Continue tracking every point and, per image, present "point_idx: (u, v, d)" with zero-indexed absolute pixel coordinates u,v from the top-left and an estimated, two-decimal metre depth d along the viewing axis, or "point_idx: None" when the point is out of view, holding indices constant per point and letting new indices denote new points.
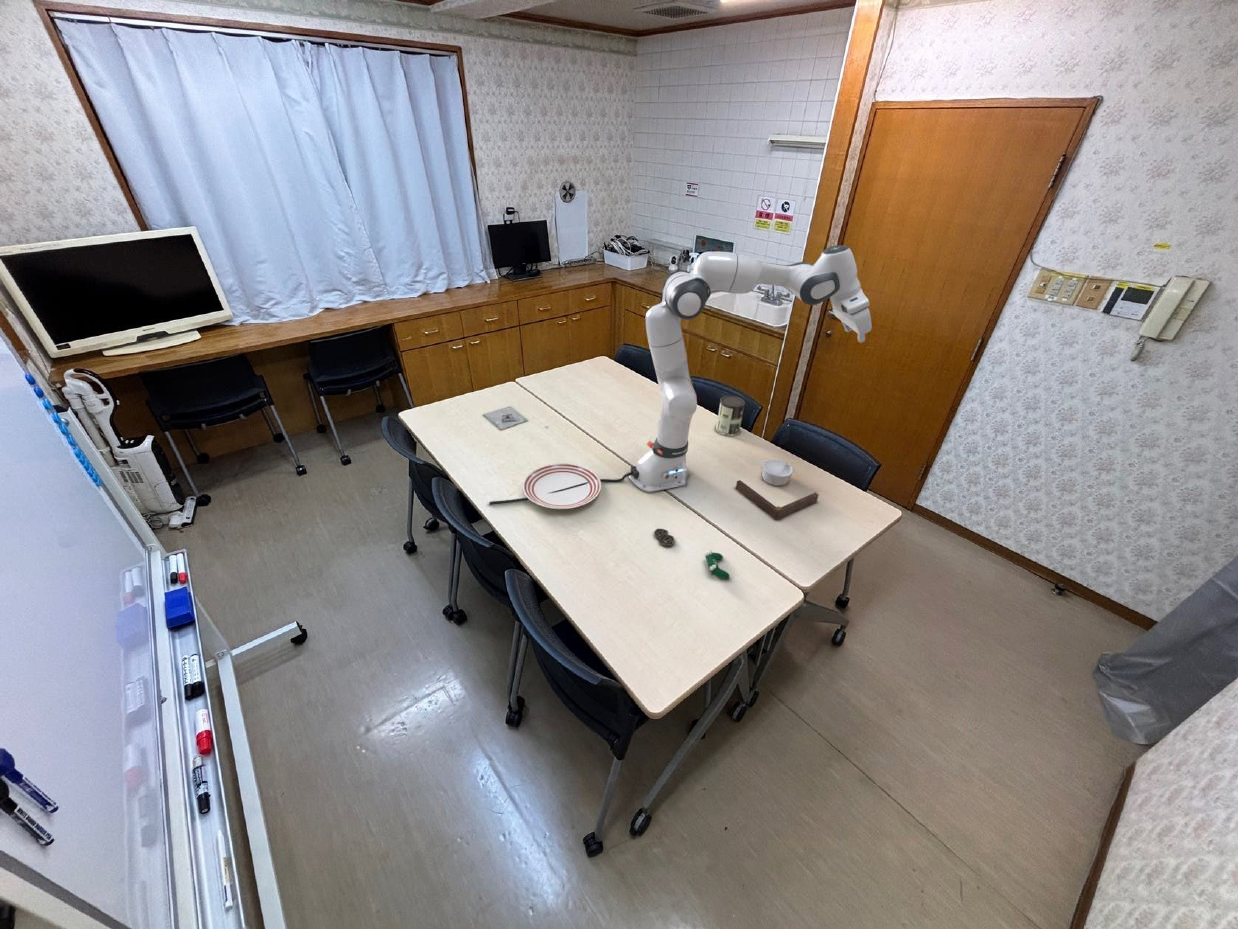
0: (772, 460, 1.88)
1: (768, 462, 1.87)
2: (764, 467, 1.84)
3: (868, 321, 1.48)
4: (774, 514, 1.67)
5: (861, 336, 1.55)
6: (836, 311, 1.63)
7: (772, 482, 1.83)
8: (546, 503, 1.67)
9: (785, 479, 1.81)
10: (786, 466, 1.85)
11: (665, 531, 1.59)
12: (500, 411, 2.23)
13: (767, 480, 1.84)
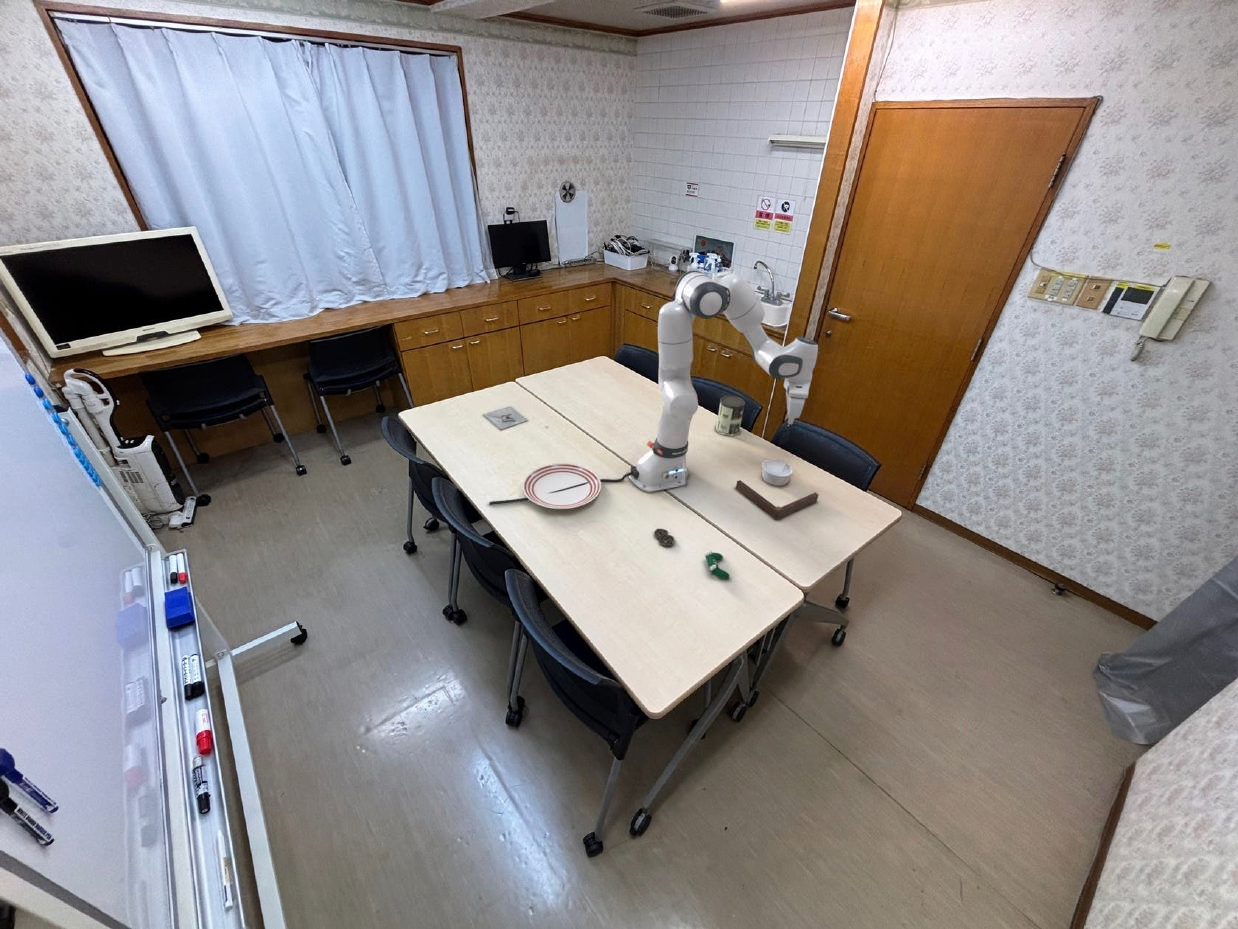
0: (772, 460, 1.88)
1: (768, 462, 1.87)
2: (764, 467, 1.84)
3: (799, 410, 1.71)
4: (774, 514, 1.67)
5: (791, 419, 1.78)
6: None
7: (772, 482, 1.83)
8: (546, 503, 1.67)
9: (785, 479, 1.81)
10: (786, 466, 1.85)
11: (665, 531, 1.59)
12: (500, 411, 2.23)
13: (767, 480, 1.84)
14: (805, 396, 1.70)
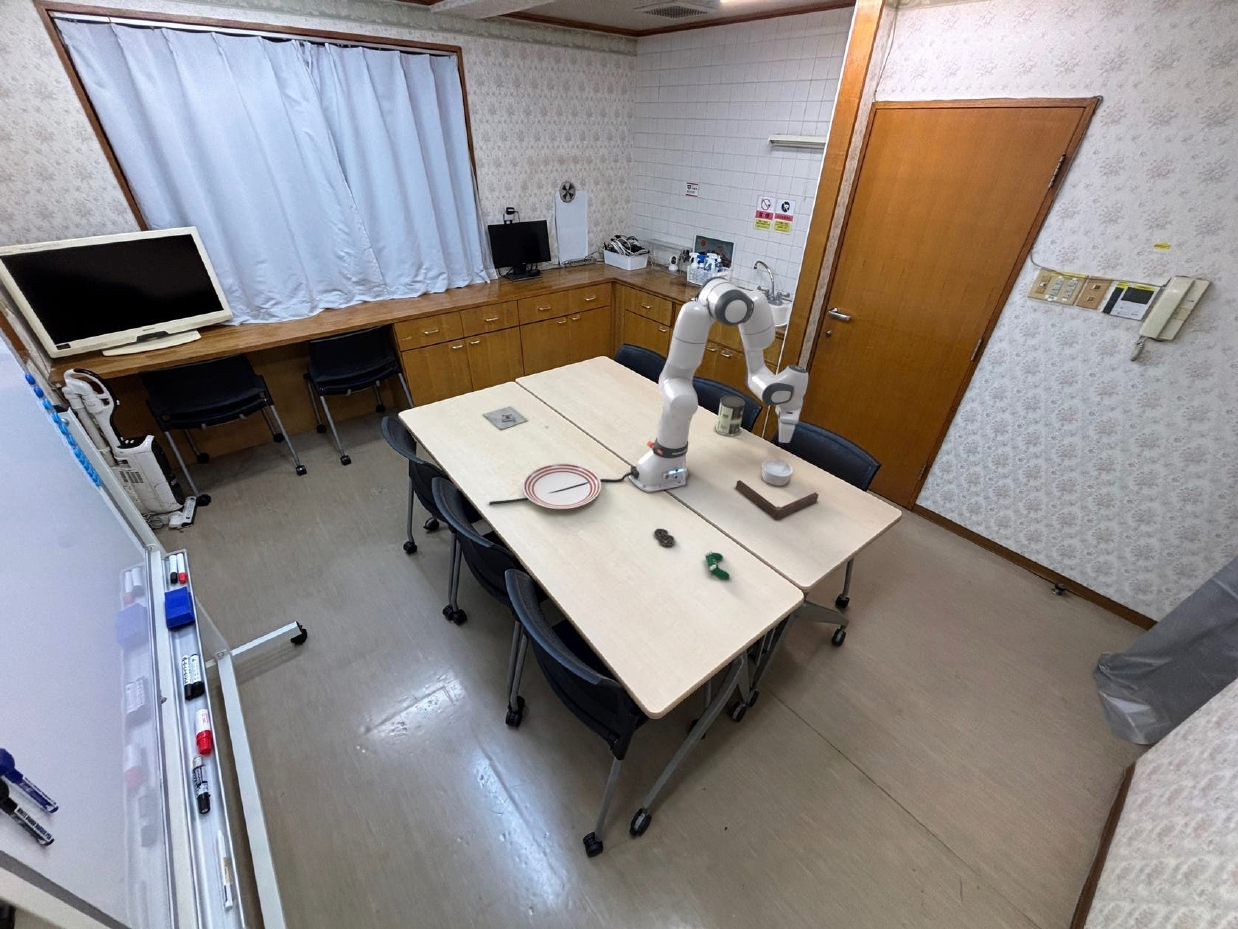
0: (772, 460, 1.88)
1: (768, 462, 1.87)
2: (764, 467, 1.84)
3: (790, 435, 1.77)
4: (774, 514, 1.67)
5: None
6: None
7: (772, 482, 1.83)
8: (546, 503, 1.67)
9: (785, 479, 1.81)
10: (786, 466, 1.85)
11: (665, 531, 1.59)
12: (500, 411, 2.23)
13: (767, 480, 1.84)
14: (795, 422, 1.75)
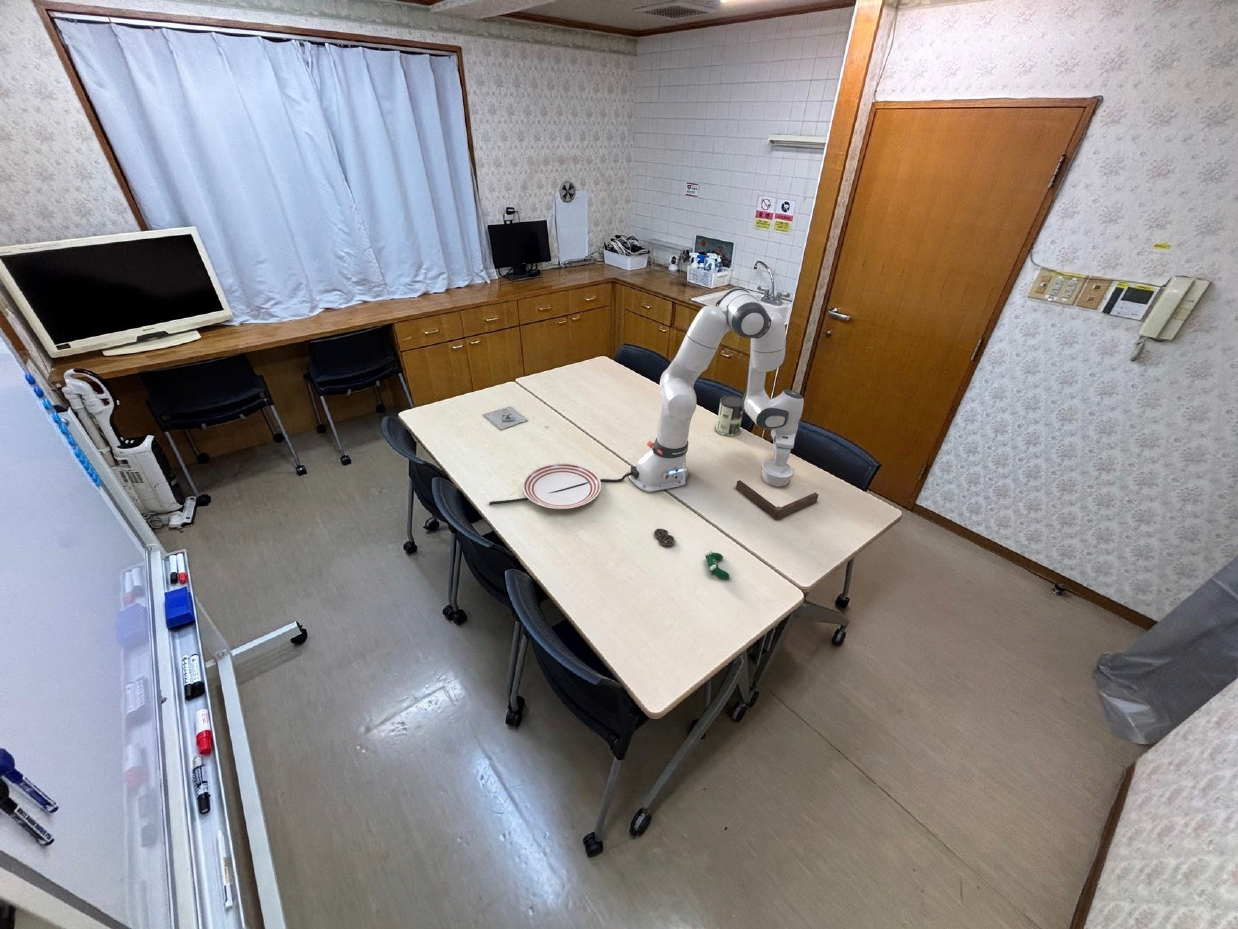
0: (772, 461, 1.87)
1: (768, 463, 1.86)
2: (764, 468, 1.83)
3: (785, 459, 1.78)
4: (774, 514, 1.67)
5: None
6: None
7: (772, 483, 1.82)
8: (546, 503, 1.67)
9: (785, 480, 1.81)
10: (786, 467, 1.85)
11: (665, 531, 1.59)
12: (500, 411, 2.23)
13: (767, 481, 1.83)
14: (791, 447, 1.76)
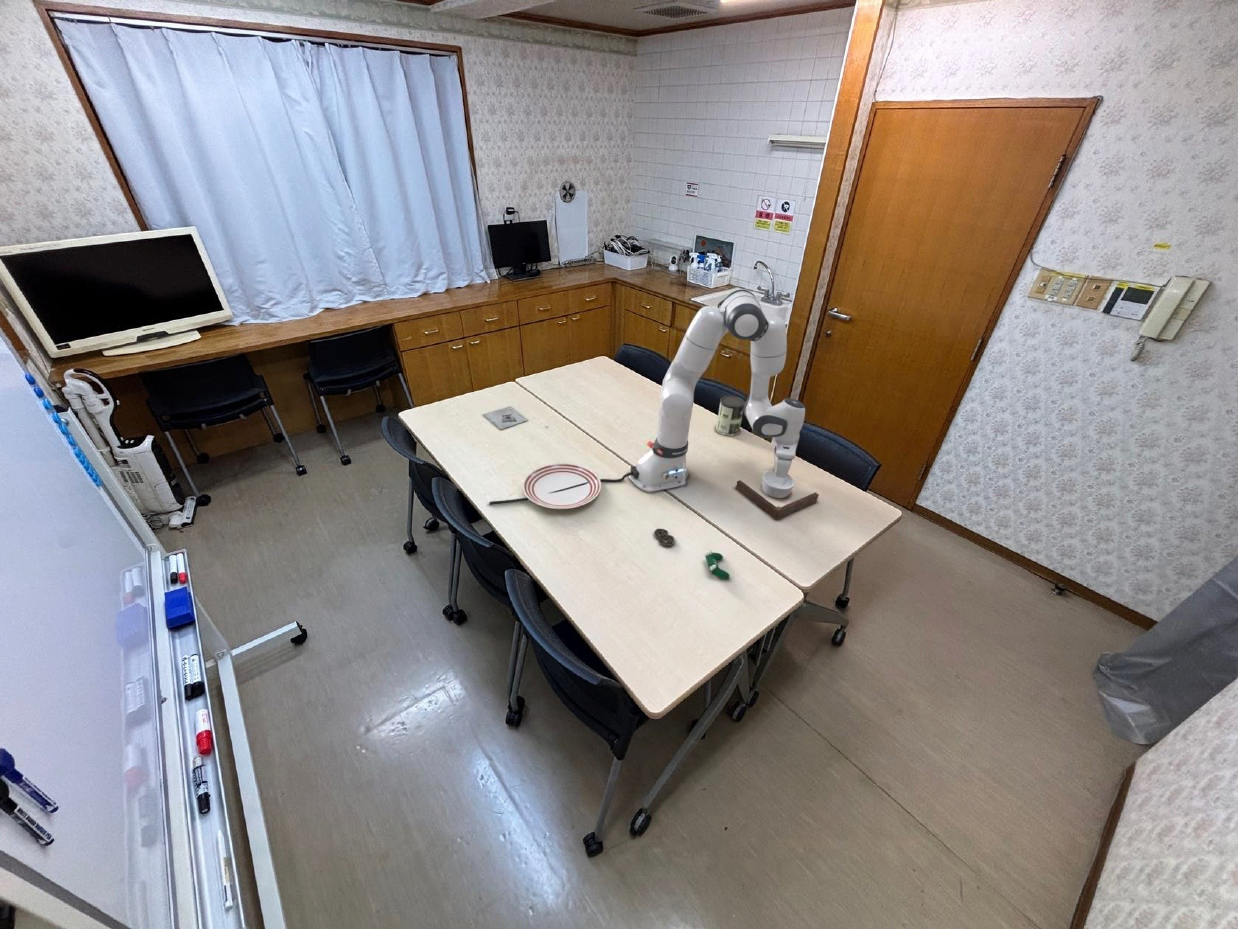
0: (773, 471, 1.81)
1: (769, 474, 1.80)
2: (765, 479, 1.77)
3: (786, 470, 1.72)
4: (774, 514, 1.67)
5: None
6: None
7: (773, 495, 1.76)
8: (546, 503, 1.67)
9: (786, 492, 1.75)
10: (787, 478, 1.79)
11: (665, 531, 1.59)
12: (500, 411, 2.23)
13: (768, 492, 1.77)
14: (792, 457, 1.70)
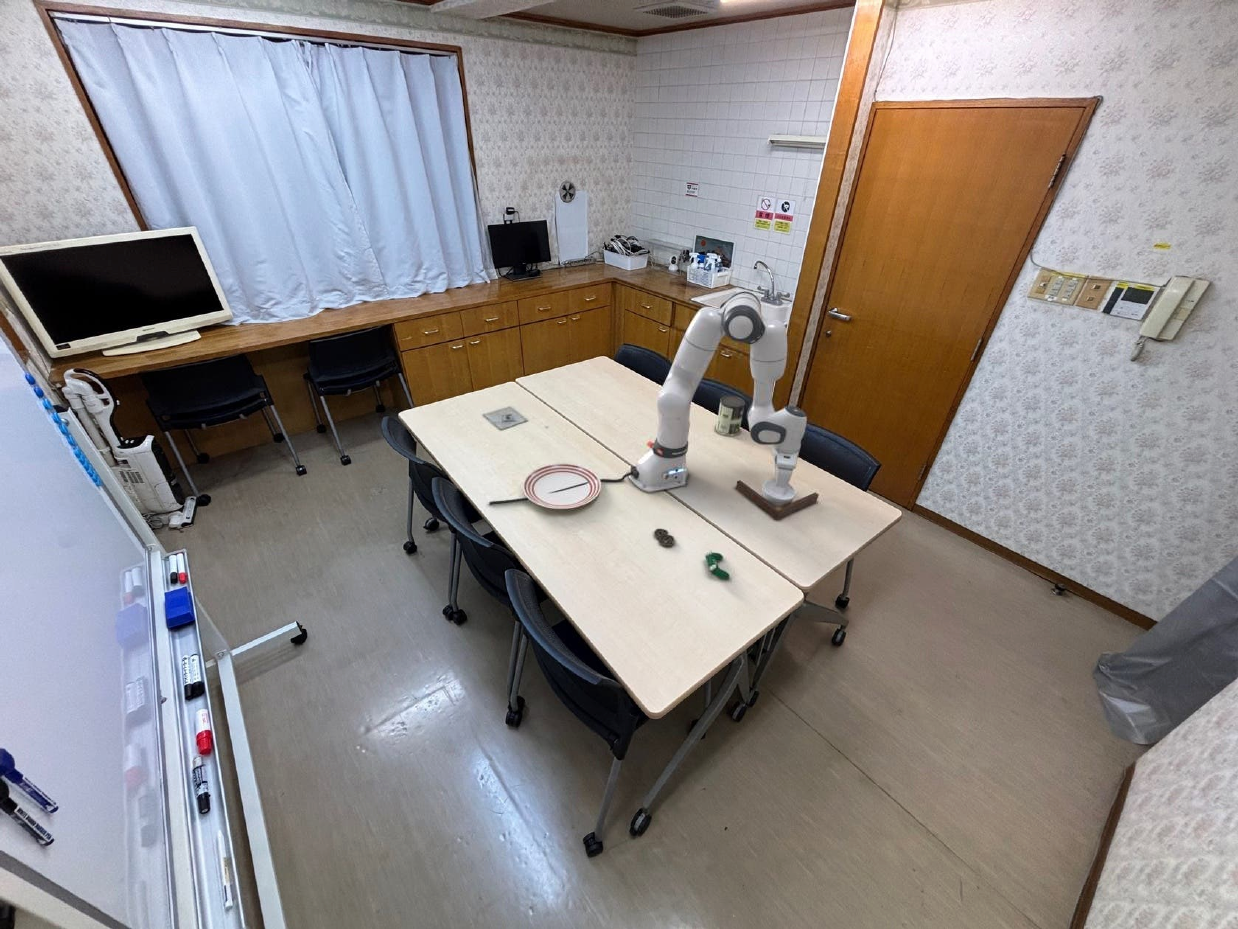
0: (773, 481, 1.77)
1: (769, 483, 1.75)
2: (765, 489, 1.72)
3: (787, 480, 1.67)
4: (774, 514, 1.67)
5: None
6: None
7: None
8: (546, 503, 1.67)
9: (787, 502, 1.70)
10: (788, 488, 1.74)
11: (665, 531, 1.59)
12: (500, 411, 2.23)
13: None
14: (793, 467, 1.65)
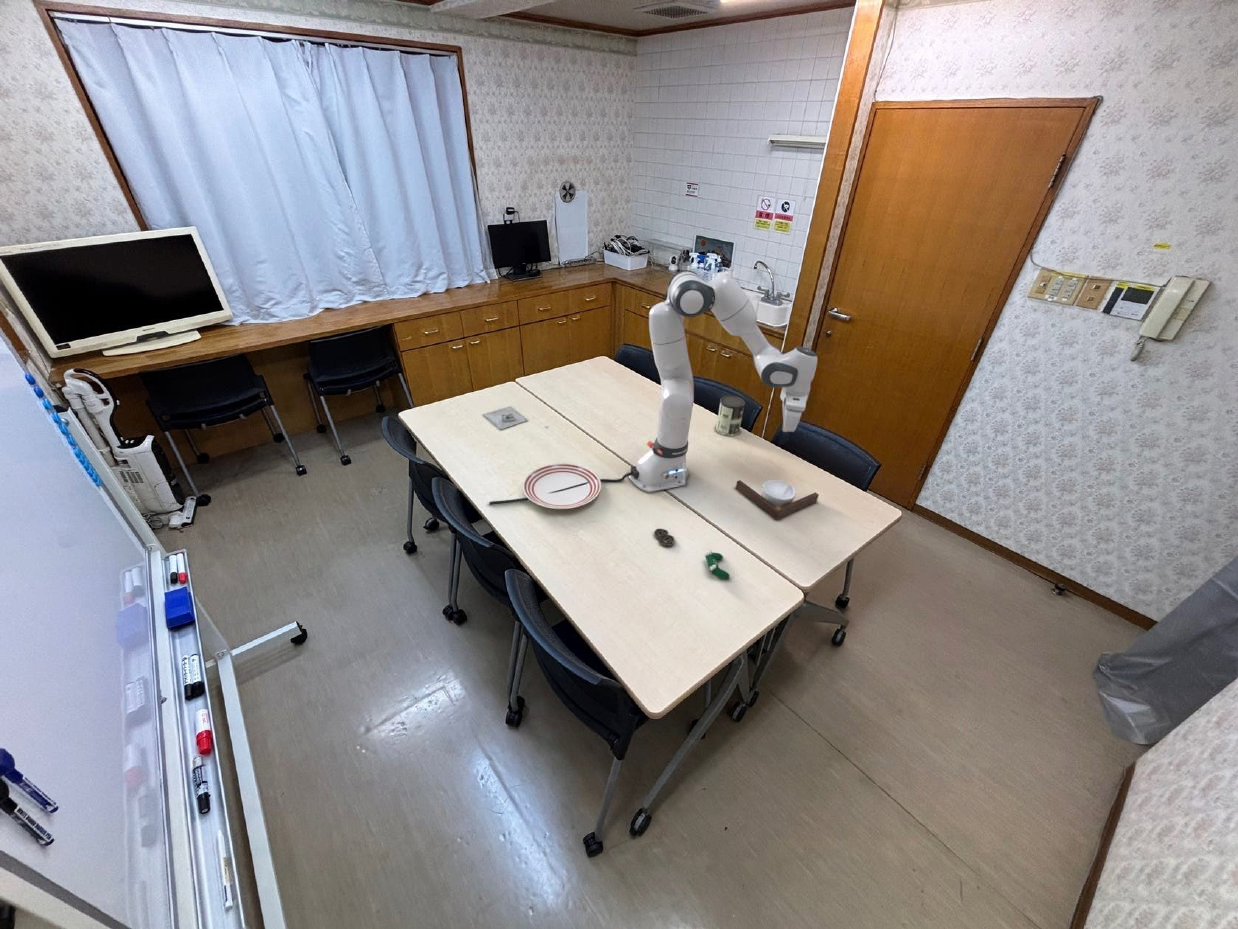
0: (773, 481, 1.76)
1: (769, 483, 1.75)
2: (765, 489, 1.72)
3: (795, 423, 1.64)
4: (774, 514, 1.67)
5: None
6: None
7: None
8: (546, 503, 1.67)
9: (787, 502, 1.70)
10: (788, 488, 1.74)
11: (665, 531, 1.59)
12: (500, 411, 2.23)
13: None
14: (802, 409, 1.62)
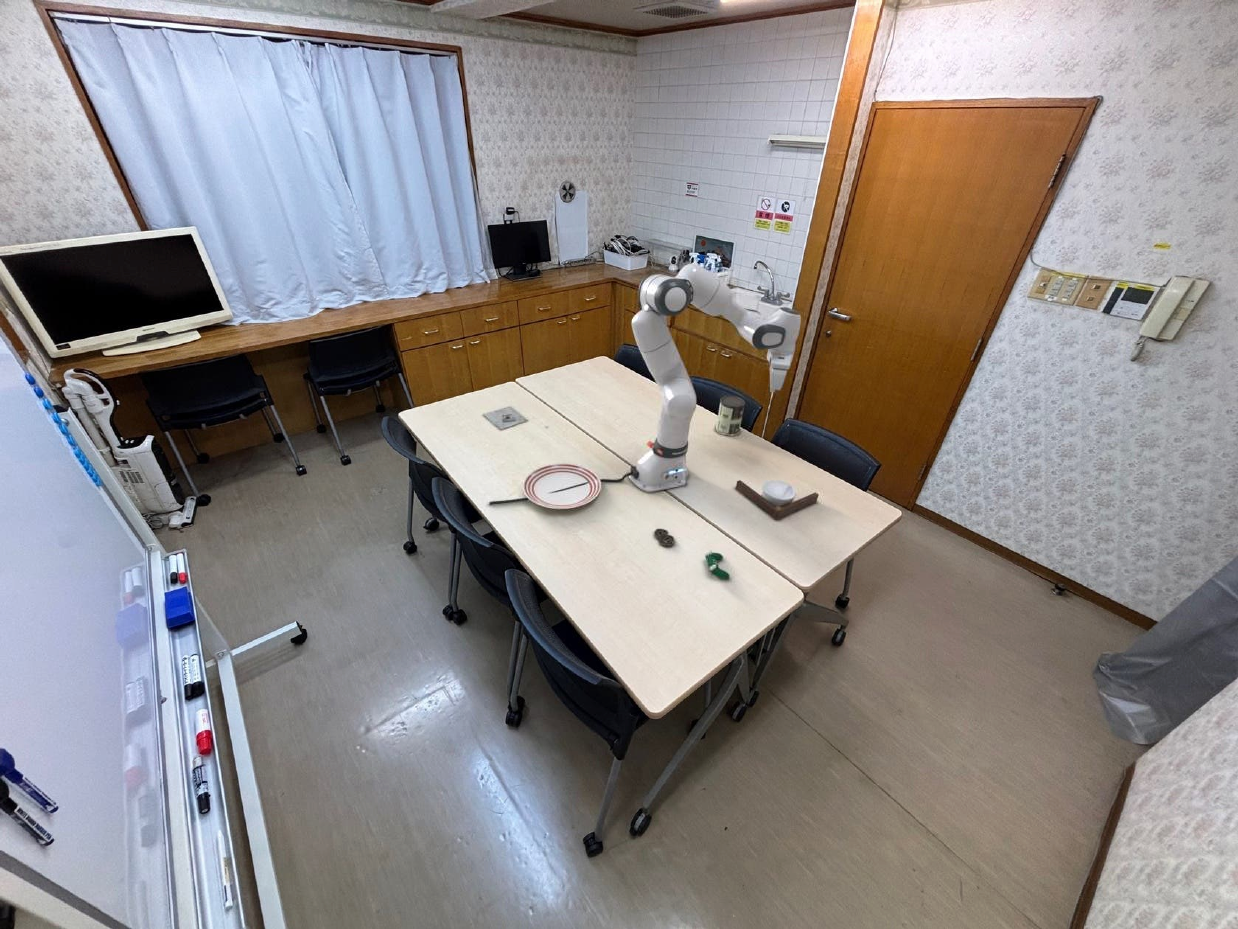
0: (773, 481, 1.76)
1: (769, 483, 1.75)
2: (765, 489, 1.72)
3: (781, 381, 1.70)
4: (774, 514, 1.67)
5: None
6: None
7: None
8: (546, 503, 1.67)
9: (787, 502, 1.70)
10: (788, 488, 1.74)
11: (665, 531, 1.59)
12: (500, 411, 2.23)
13: None
14: (787, 367, 1.68)
